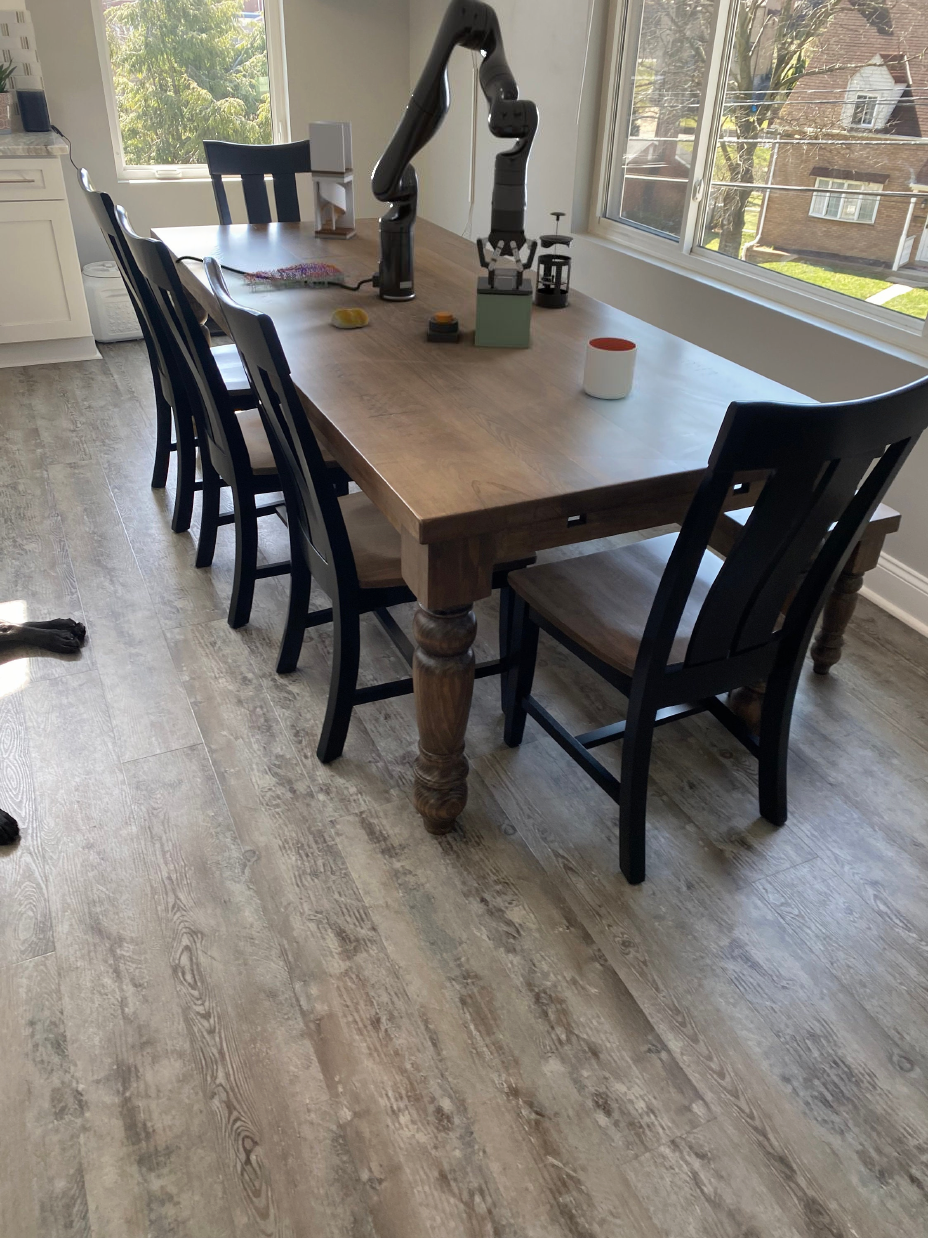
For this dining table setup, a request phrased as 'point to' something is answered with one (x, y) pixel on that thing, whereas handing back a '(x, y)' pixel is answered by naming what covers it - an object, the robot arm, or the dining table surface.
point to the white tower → (332, 178)
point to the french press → (547, 294)
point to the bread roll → (349, 318)
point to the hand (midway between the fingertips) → (504, 287)
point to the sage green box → (503, 320)
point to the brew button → (443, 317)
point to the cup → (609, 367)
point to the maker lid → (504, 283)
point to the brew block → (443, 331)
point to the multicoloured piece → (288, 279)
